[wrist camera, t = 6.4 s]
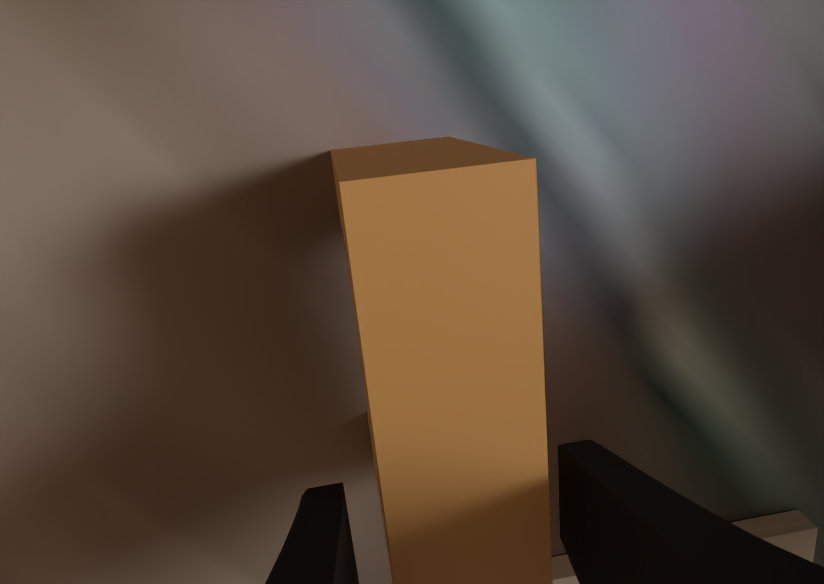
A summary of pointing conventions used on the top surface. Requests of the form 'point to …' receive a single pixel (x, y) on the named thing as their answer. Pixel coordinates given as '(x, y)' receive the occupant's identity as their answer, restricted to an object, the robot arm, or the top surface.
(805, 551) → the stand
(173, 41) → the top surface
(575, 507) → the robot arm
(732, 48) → the top surface
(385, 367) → the block
